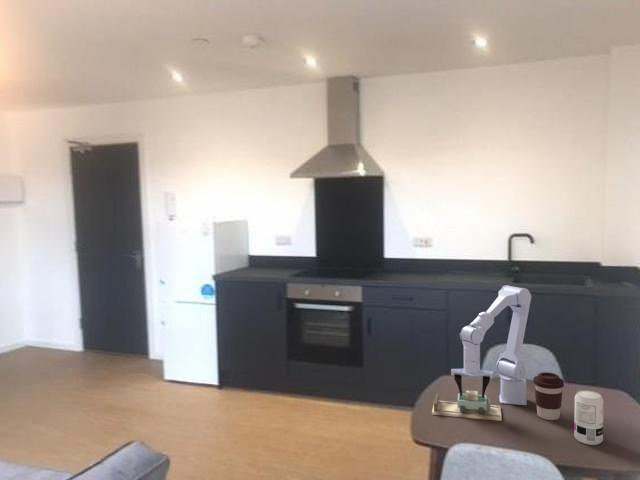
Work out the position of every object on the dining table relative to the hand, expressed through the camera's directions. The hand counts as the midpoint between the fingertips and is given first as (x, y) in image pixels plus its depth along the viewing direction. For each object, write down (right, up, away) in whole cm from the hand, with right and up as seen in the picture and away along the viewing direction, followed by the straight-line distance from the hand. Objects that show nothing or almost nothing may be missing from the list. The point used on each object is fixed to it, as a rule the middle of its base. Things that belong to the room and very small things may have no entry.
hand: (472, 395), depth 191 cm
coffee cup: (+26, -6, -5) cm, 27 cm away
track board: (-2, -6, +1) cm, 7 cm away
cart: (+1, -5, 0) cm, 5 cm away
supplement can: (+31, -8, -23) cm, 39 cm away
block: (0, -3, 0) cm, 3 cm away
